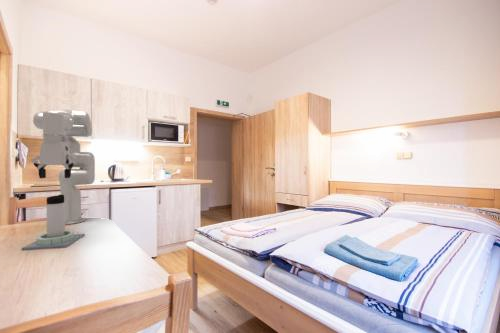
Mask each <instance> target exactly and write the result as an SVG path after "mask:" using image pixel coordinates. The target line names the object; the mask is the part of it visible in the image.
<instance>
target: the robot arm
mask: <svg viewBox="0 0 500 333" xmlns="http://www.w3.org/2000/svg"><path fill="white" fill-rule="evenodd" d="M32 118H33V120H32V121H33V122H32V123H33V125H34V127H35V128H37V129H39V130H42V142H41V143H40V147H39V155H38V156H36V157H33V158H32V159H31V162H32V164H33V166H34V167H36V169H37V170H38V176H39V179H45V178H46V177H47V174H46V173H47V169H46V167H47V166H63V167H64V168H65V169H63V170H60V172H59V173H58V176H57V177H58V181H59V187H60V195H64V202H65V203H64V204H65V226H66V225H74V224H79V223H83V222H84V221H85V218H84V217H82V216H83V215H84V213H83V212H82V192H81V190H80V189H79V188H78V187H77V186H79V185H80V186H82V185H83V186H84V185H85V186H87V185H92V184H94V183H95V176H96V174H95V172H96V171H95V170H96V169H95V168H96V162H95V159H96V158H95V155H94V154H93V153H92V152H90V151H89V152H88V151H81V143H80V142H79V141H78V140H77V139H76V138H74V137H77V138H78V137H83V138H89V137H91V136H92V134H93V126H92V122H91V117H90V115H89V113H88V112H87V111H85V110H74V109H62V110H45V111H44V110H43V111H38V112H36V113H35V114H33V117H32Z"/></svg>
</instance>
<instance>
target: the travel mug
mask: <svg viewBox="0 0 500 333" xmlns="http://www.w3.org/2000/svg"><path fill="white" fill-rule="evenodd" d="M64 203H65V202H64V195H61V194H58V195H53V196H47V197H46V233H47V238H55V237H61V236H65V230H66V225H65V204H64Z"/></svg>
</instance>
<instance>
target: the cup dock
mask: <svg viewBox="0 0 500 333" xmlns="http://www.w3.org/2000/svg"><path fill="white" fill-rule="evenodd" d="M85 236H86V234H85V233H75V231H74V230H70V229H65V236H61V237H55V238H47V232H45V233H42V234H40V235H38V236H36V239H35V241H33V242H31V243H29V244H27V245H25V246H23V247H21V250H22V251H30V250H31V251H32V250H47V249H49V250H50V249H62V248H68V247H70V246H71V245H73V244H74V243H76V242H77V241H79V240H80V239H82V238H84V237H85Z"/></svg>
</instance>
